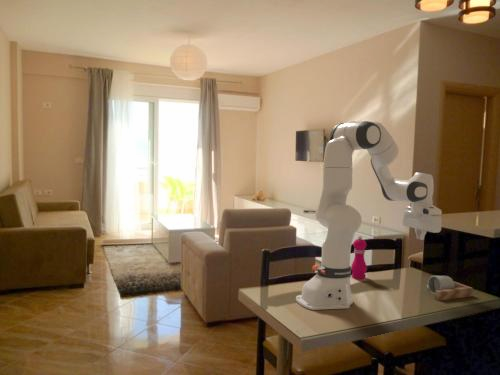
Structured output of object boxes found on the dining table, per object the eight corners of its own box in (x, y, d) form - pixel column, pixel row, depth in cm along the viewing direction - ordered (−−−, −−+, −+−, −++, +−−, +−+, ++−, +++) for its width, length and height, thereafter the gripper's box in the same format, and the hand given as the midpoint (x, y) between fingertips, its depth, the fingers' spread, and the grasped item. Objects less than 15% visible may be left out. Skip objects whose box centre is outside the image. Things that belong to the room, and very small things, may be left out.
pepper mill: (369, 278, 193) (371, 236, 191) (356, 280, 190) (358, 237, 188) (360, 274, 199) (361, 234, 198) (347, 276, 197) (349, 234, 195)
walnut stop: (438, 300, 164) (438, 292, 164) (416, 291, 175) (417, 283, 175) (472, 296, 170) (472, 287, 170) (449, 287, 181) (449, 279, 181)
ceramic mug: (455, 295, 171) (456, 276, 171) (440, 296, 169) (441, 278, 168) (436, 287, 181) (437, 270, 181) (421, 289, 179) (422, 272, 178)
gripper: (400, 206, 192) (398, 235, 193) (433, 211, 173) (431, 244, 174) (410, 205, 194) (409, 234, 195) (444, 211, 175) (443, 243, 176)
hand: (420, 239), depth 184 cm, fingers closed
